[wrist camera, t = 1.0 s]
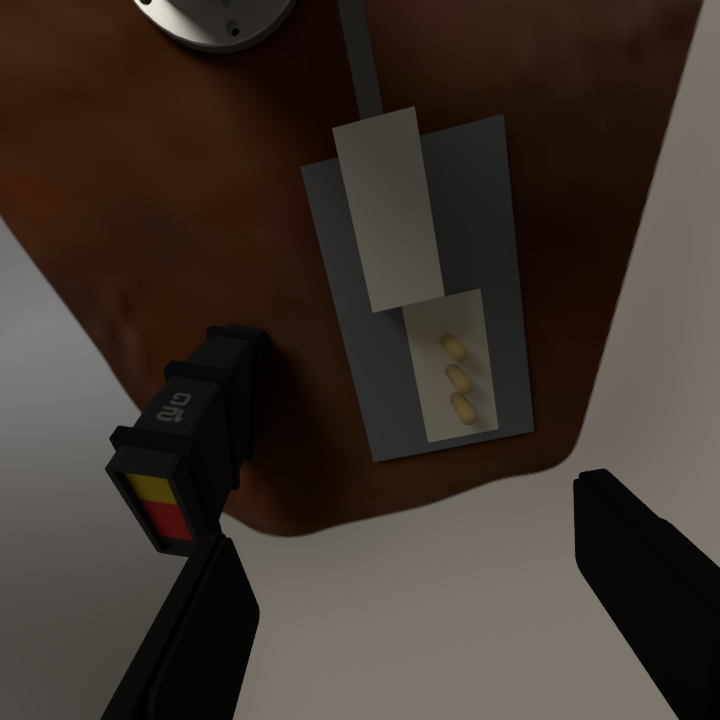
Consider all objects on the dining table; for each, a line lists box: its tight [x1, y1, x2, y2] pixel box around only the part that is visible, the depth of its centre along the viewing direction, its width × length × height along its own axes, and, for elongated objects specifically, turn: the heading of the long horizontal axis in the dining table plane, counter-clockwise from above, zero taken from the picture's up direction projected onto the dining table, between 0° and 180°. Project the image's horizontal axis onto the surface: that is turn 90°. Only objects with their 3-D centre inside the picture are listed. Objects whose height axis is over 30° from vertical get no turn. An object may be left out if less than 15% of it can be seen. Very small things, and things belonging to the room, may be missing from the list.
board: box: [300, 114, 534, 462], centre depth 26 cm, size 24×14×5 cm, turn 13°
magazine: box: [105, 324, 265, 557], centre depth 26 cm, size 4×13×15 cm, turn 170°
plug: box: [332, 0, 445, 313], centre depth 22 cm, size 16×4×6 cm, turn 13°
